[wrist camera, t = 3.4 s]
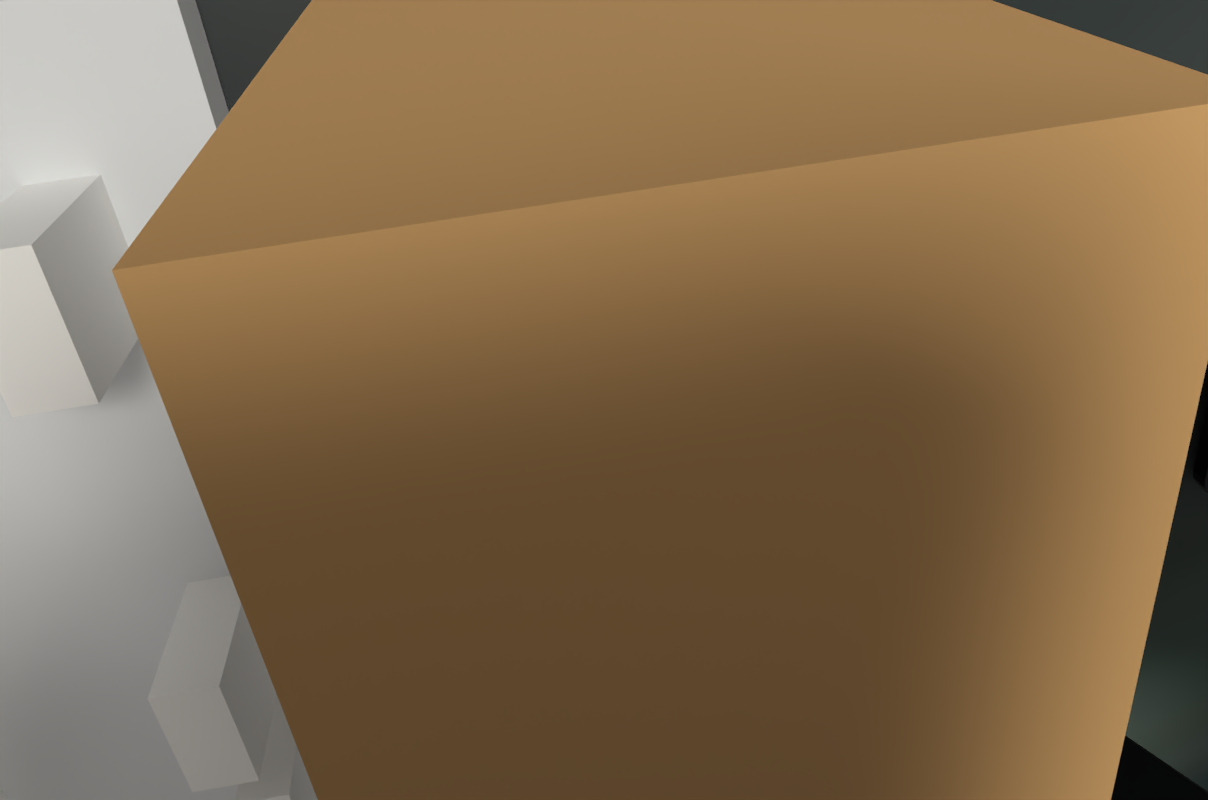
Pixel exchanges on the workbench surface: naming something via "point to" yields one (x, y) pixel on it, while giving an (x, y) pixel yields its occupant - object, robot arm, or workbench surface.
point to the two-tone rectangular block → (691, 391)
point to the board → (109, 437)
